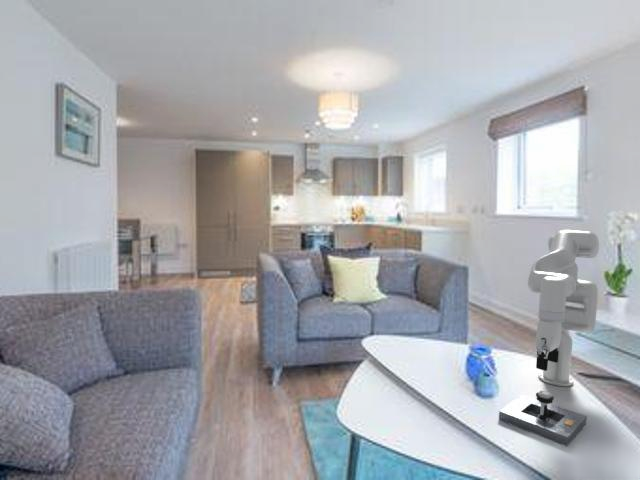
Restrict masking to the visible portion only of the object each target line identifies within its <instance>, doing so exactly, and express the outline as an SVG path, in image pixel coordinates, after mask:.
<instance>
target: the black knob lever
mask: <svg viewBox="0 0 640 480" xmlns="http://www.w3.org/2000/svg"><path fill="white" fill-rule="evenodd" d="M535 397H536V399H537V400H538V401H539V402H540V403H541V407H540V409H539V410H538V414H537V418H539V419H542V420H544V421H547V422H549V421H550V418H549V415H550V413H549V412H548V408H547V404H553V400H554V398H555V397H554V396H553V395H552V393H551V392H549V391H546V390H539V392H536V394H535Z"/></svg>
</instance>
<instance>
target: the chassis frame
mask: <svg viewBox="0 0 640 480" xmlns="http://www.w3.org/2000/svg"><path fill="white" fill-rule="evenodd" d="M540 407H541V403H540V402H539V401H538V400H537V398H534V397H532V396H529V395H526V394H524V393H522V394H521V395H519V396H518V397H516V398H515V399H513V401H511V402H509V403H508V404H507V405H505V406H504V407H503V408H502V409H500V410H499V411H498V420H499V419H500V420H499V421H501V420H502V422H504V421H505V422H504V423H506V422H507V424H509V423H510V425H511V424H512V426H514V427H516V426H517V428H519V429H522V430H524V431H527V432H530V433H532V434H535V435H536V436H537V435H538V436H540V437H542V438H544V439H547V440H550V441H551V442H552V441H553V442H554V443H557V444H560V445H562V446H565V447H568V446H569V445H570V443H572V441H573V440H574V439H575V438H576V437H577V436H578V435H579V433H581V431H582V430H584V428H585V427H586V425H587V422H588V421H587V420H588V416H587V415H584V414H582V413H579V412H576V411H574V410H570V409H567V408H564V407H561V406H558V405H555V404H553V403H550V404H547V408H548V412H549V413H550V415H549V420H552V421H555V422H557V423H556V424H555V423H553V422H549V421H548V422H547V421H544V420H542V419H539V418H538V417H536V416H533V415H530V413H534V414H536V415H539V414H538V410H539V409H540Z"/></svg>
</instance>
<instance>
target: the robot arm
mask: <svg viewBox="0 0 640 480" xmlns="http://www.w3.org/2000/svg"><path fill="white" fill-rule="evenodd" d="M599 243H600V242H599V237H598V236H597V234H596V233H594V232H592V231H587V230H571V229H564V230H559V231H558V232H557V231H556V232H555V234H554V235H551V236H550V237H549V238H548V242H547V244H548V245H547V246H548V250H549V253H547V254H544V255H543V256H541V257H540V258H538V259H537V260H535V261H534V262H533V263H532V265H531V268H530V272H529V275H528V280H527V286H528V289H529V290H530V291H531V292H533V293H536V294H539V302H538V314H537V315H538V316H537V319H538V324H537V328H536V334H535V336H536V337H535V343H534V348H535V349H536V350H537V351H536V362H535V363H536V365H535V367H536V369H538V370H541V372H540V371H539V373H538V378H539V379H540V380H541V381H542V382H544V383H546V384H549V385H552V386H557V387H571V386H573V385H574V380H573V378H572V377H571V376H570V371H571V363H572V351H573V338H572V336H571V335H570V333H569V332H568V331H574V332H581V333H584V334H585V333H588V334H589V333H592V332H593V331H594V330H595V327H596V322H597V312H598V311H597V310H598V309H597V308H598V299H599V290H598V286H597V284H596V282H594V281H590V280H584V279H578V274H579V273H578V272H579V266H578V264H577V262H576V258H581V259H594V258H596V257H597V256H598V254H599V250H600V244H599ZM566 303H571V304H578V305H579V304H580V305H582V306H583V307H579V306H573V305H567V304H566Z"/></svg>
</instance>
